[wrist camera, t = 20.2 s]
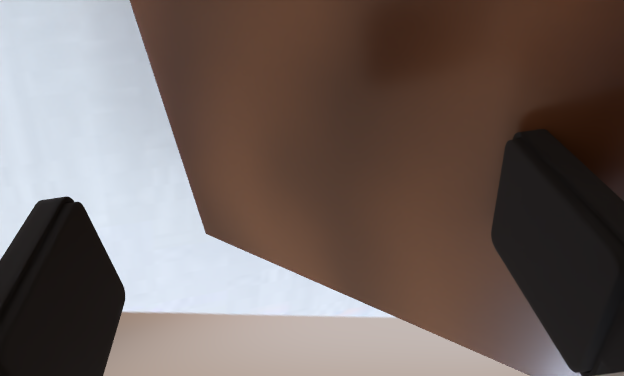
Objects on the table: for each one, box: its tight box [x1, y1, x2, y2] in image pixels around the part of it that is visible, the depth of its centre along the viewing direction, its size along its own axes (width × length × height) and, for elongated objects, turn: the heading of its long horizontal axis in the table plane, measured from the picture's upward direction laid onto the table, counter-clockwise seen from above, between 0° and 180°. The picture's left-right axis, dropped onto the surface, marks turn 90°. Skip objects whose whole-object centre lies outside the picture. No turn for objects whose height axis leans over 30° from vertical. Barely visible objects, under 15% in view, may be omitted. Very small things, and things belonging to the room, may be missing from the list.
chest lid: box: [130, 0, 624, 376], centre depth 13 cm, size 17×14×1 cm
